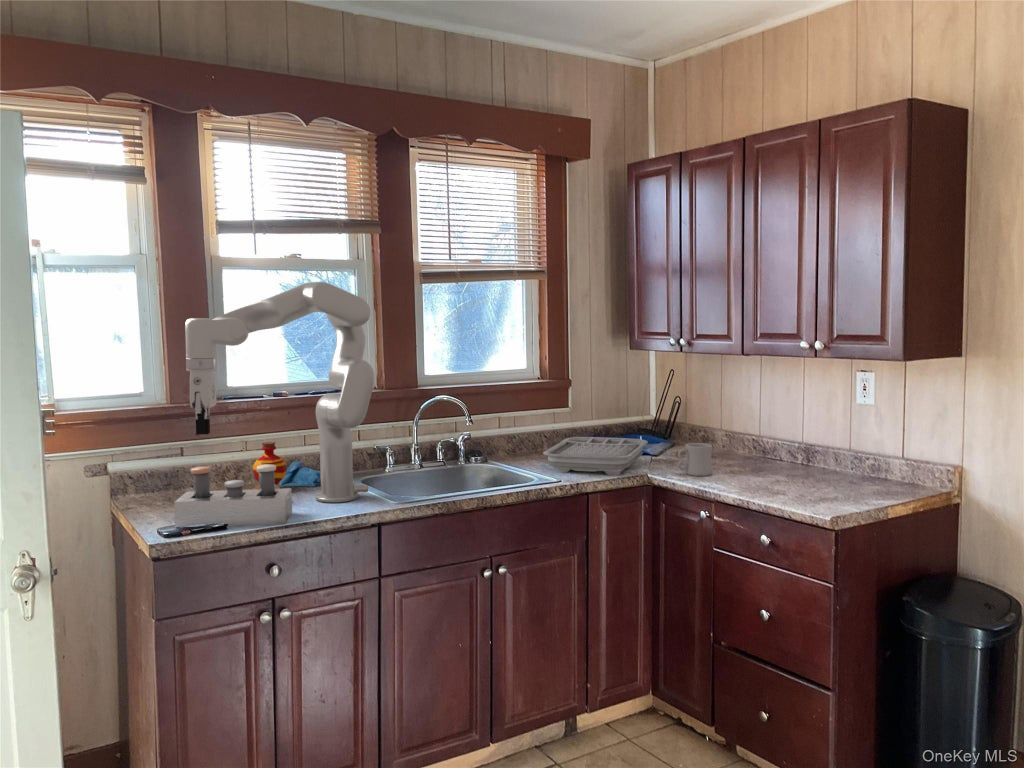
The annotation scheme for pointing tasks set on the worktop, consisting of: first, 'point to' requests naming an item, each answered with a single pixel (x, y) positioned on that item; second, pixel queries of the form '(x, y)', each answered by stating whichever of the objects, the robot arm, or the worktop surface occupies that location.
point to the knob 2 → (266, 480)
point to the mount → (234, 508)
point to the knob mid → (234, 488)
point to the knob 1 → (201, 482)
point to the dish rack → (595, 454)
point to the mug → (697, 459)
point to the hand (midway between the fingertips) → (203, 433)
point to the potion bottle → (270, 462)
